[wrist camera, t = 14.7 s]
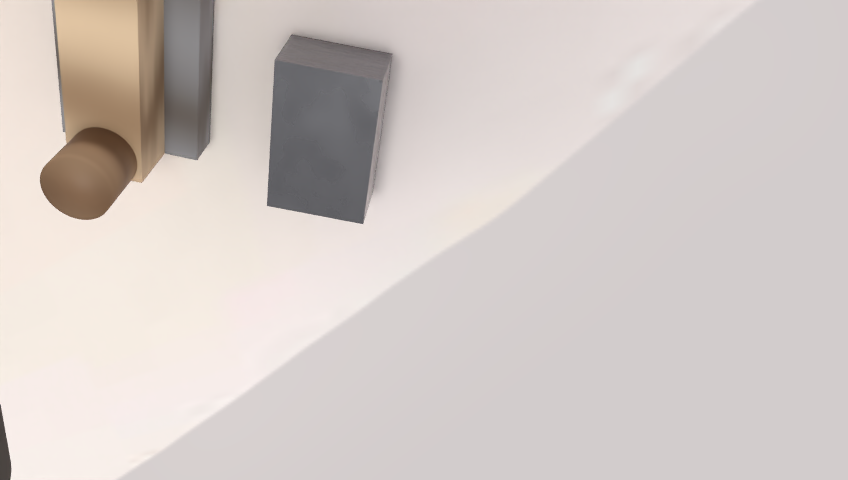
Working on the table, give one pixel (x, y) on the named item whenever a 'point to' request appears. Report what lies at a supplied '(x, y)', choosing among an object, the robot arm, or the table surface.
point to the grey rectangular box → (326, 127)
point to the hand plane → (127, 95)
